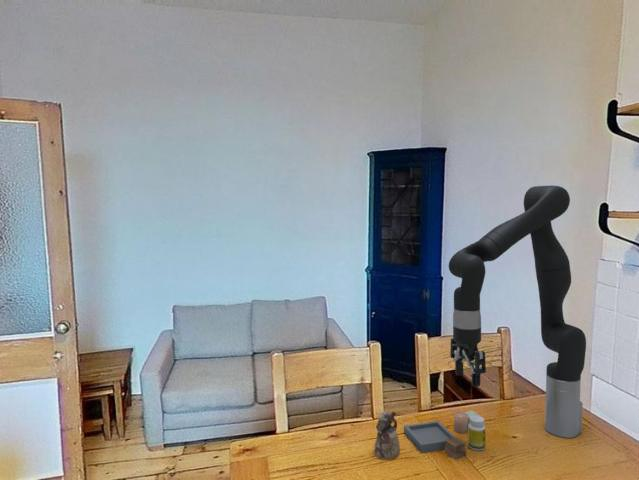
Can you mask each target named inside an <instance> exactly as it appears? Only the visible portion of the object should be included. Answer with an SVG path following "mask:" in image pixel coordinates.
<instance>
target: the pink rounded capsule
mask: <svg viewBox="0 0 639 480" xmlns="http://www.w3.org/2000/svg"><path fill="white" fill-rule="evenodd" d="M464 412H465V411H456V412H455V413H454V417H453V419H454V420H453V431H454V432H455V433H458V434H468V429H467V427H468V414H466V413H464Z"/></svg>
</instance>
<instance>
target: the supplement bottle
mask: <svg viewBox="0 0 639 480" xmlns="http://www.w3.org/2000/svg"><path fill="white" fill-rule="evenodd" d="M480 416H481V415H480ZM480 416H471V417H470V421H469V422H470V423H469V425H468V429H467V446H468V447H469V448H470V449H471V450H473V451H477V452H478V451H483V450H485V448H486V426H485V418H483V417H482V416H481V417H480Z"/></svg>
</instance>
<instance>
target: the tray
mask: <svg viewBox="0 0 639 480" xmlns="http://www.w3.org/2000/svg"><path fill="white" fill-rule="evenodd" d="M403 434H404V435H405V436H406V438H407V439H408V440H409V441H410V442H411V443H412V445H414V446H415V448H416V449H417V451H419V453H420V454H424V453H425V454H426V453H430V452H431V453H432V452H436V451H442V450H443V451H444V450H445V440H446V439H449V438H452V437H454V436H455V435H454V434H453V432H451V431H450V430H449V429H448V428H447V427H446V426H445V425H444V424H443V423H442V422H440V421H439V420H433V421H426V422H422V423H421V422H420V423H413V424H407V425H406V424H405V425H403Z"/></svg>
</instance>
